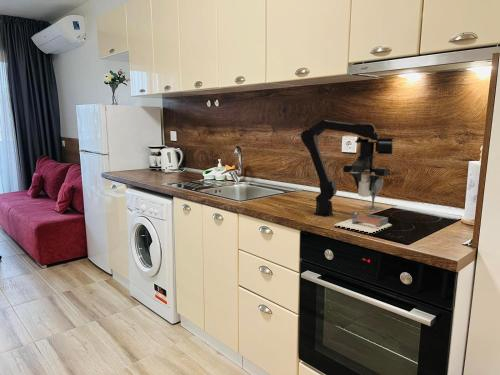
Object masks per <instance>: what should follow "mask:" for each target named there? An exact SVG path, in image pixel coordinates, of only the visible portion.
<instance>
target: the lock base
mask: <svg viewBox="0 0 500 375" xmlns="http://www.w3.org/2000/svg"><path fill="white" fill-rule="evenodd" d="M363 215H364V216H369V217H374V218H379V219H381V221H380V226H377V225H372V224H368V223H363V222H358V224H353V223H352V218H349V219H346V220H343V221H339V222H337V223H334V227H338V226H340V227H339V228H342V227H345V228H344V229H347V228H350V229H349V230H351V229H355V230H359V231H358V232H360V231H364V232H368V233H367V234H369V233H373V232H375V233H377V232H376V231H378V232H380V231H382V230H381V229H383V230H385V229H388V228H389V227H392V226H393V224H391V223H389V217H386V216H380V215H375V214H371V213H366V214H363ZM384 228H385V229H384ZM355 230H354V231H355ZM379 230H380V231H379ZM364 232H363V233H364ZM373 234H374V233H373Z"/></svg>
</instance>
